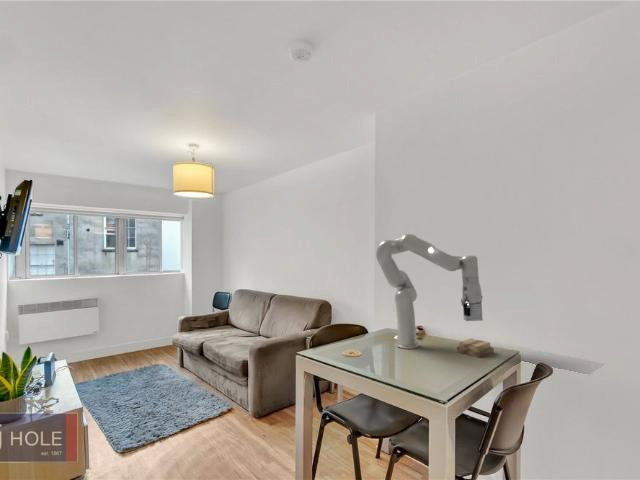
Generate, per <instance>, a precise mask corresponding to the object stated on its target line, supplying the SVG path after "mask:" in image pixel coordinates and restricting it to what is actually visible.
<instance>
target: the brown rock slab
mask: <svg viewBox="0 0 640 480" xmlns="http://www.w3.org/2000/svg"><path fill="white" fill-rule="evenodd" d="M456 350H457V353H459V354H463V355H467V356H471V357H475V358H479V359H481V358H483V357H486V356H488V355H492V354H494V353H495V350H494V347H493V346H491V342H489V341H485V340H480V339H477V338H476V339H475V338H469V339H465V340H463V341H460V342H459V346H457V347H456Z"/></svg>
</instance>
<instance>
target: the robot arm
mask: <svg viewBox="0 0 640 480" xmlns="http://www.w3.org/2000/svg"><path fill="white" fill-rule="evenodd" d="M407 251H409V252H411V253H414V254H415V255H418V256H420V257H421V258H423V259H424V260H427V261H429V262H431V263H433V264H434V265H436V266H438V267H441V268H442V269H444V270H446V271H448V272H449V271H450V272H455V271H459V270H461V276H462V288H461V289H462V290H461V291H462V297H461V299H460V303H461V305H462V309H463V308H464V315H465V316H471V313H470V308H469V307H470V304H474V303H481V304H482V301H483V295H482V287H481V283H480V280H479V279H480V278H479V262H478V258H477V256H476V255H464V256H459V255H451V254H449V253H447V252H444V251H442V250H440V249H439V248H437V247H436V246H435V245H434V244H432V243H430V242H428V241H426V240H424V239H421V238H419V237H417V235H415V234H411V233H406V234H403V236H401V237H399V238H396V239H386V240H383V241H382V242H380V243H379V245H378V246H377V248H376V252H375V255H376V260H377V262H378V265H379V266H380V269H381V270H382V273H383V274H384V276H385V278H386V280H387V283H388V284H389V285H390V287H392V288H396V290H397V291H396V292H395V295H394V302H395V303H394V304H395V308H396V320H397V323H396V324H397V335H395V337H394V338H393V339H394V340H396V342H395V346H396V347H397V348H399V347H400V348H399V349H405V350H409V349H412V350H413V349H417V348H420V343H419V342H418V341H417V336H416V335H417V334H416V333H417V332H416V330H417V329H416V319H415V317H416V316H415V307H414V302H415V301H416V299H417V296H418V293H417V290H416V289H415V286H414V285H413V283H412V280H411V279H410V277H409V275H408V274H407V273H406V272H405V271H404V270H402V269H399V267H398V266H397V264H396V261H395V259H394V258H393V256H394V255H397V254H402V253H405V252H407ZM392 255H393V256H392ZM467 304H468V305H467Z"/></svg>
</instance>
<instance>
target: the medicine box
mask: <svg viewBox="0 0 640 480" xmlns="http://www.w3.org/2000/svg"><path fill="white" fill-rule="evenodd" d="M467 305H468V304H467ZM469 308H470V313H471V316H465V315H464V308H463V307H462V314H463V319H464V321H466V322H479V321H484V320H483V318H484V317H483V305H482V302H481V303H474V304H470V307H469Z"/></svg>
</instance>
